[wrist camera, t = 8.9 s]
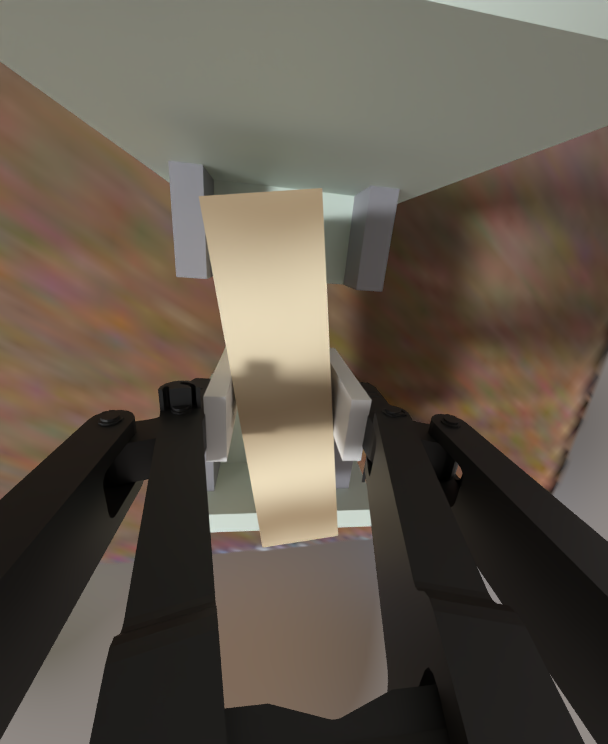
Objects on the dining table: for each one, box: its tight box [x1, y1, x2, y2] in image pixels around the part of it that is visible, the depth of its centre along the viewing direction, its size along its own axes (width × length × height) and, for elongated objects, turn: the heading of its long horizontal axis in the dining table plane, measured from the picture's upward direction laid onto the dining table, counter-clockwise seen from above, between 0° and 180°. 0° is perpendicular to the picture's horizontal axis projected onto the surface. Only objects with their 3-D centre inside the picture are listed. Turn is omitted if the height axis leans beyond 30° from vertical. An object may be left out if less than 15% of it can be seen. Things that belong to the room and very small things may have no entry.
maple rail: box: [199, 188, 338, 547], centre depth 15 cm, size 16×4×6 cm, turn 4°
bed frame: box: [0, 0, 608, 532], centre depth 17 cm, size 22×14×20 cm, turn 175°
